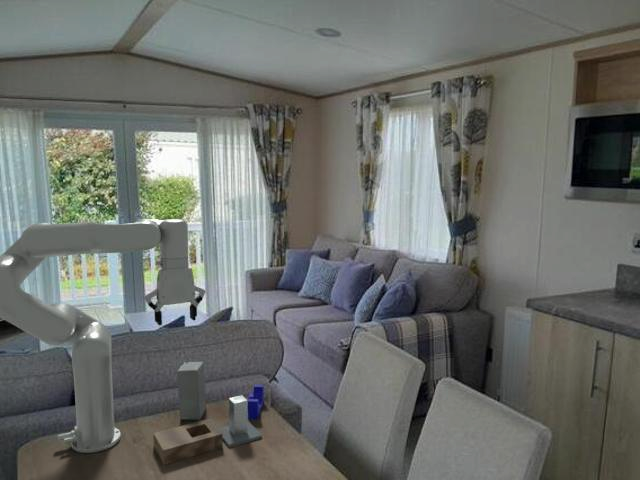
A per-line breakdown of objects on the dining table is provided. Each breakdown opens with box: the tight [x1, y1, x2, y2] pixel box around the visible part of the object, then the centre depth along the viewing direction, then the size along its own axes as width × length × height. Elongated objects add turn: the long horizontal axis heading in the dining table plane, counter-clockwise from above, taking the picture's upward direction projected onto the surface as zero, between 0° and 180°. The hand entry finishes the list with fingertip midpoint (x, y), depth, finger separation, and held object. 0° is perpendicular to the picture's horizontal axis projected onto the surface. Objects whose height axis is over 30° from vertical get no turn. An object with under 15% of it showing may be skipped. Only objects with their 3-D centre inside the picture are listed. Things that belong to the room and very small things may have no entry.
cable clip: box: [247, 384, 265, 420], centre depth 158 cm, size 12×4×6 cm, turn 178°
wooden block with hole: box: [153, 418, 223, 465], centre depth 137 cm, size 16×10×4 cm, turn 122°
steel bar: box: [228, 394, 249, 437], centre depth 143 cm, size 4×4×10 cm
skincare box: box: [176, 361, 207, 421], centre depth 155 cm, size 8×7×16 cm
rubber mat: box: [217, 420, 263, 448], centre depth 144 cm, size 10×10×1 cm
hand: (176, 321), depth 143 cm, fingers open, 9 cm apart
